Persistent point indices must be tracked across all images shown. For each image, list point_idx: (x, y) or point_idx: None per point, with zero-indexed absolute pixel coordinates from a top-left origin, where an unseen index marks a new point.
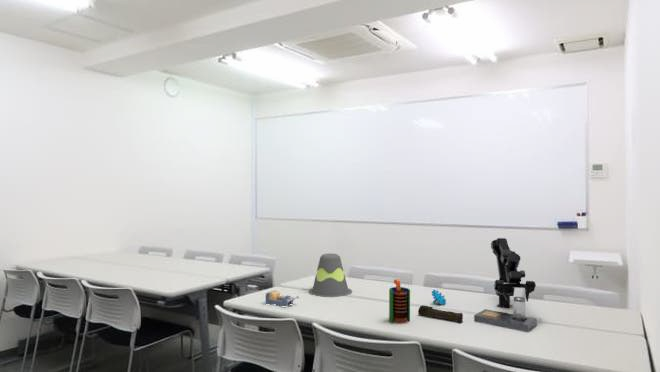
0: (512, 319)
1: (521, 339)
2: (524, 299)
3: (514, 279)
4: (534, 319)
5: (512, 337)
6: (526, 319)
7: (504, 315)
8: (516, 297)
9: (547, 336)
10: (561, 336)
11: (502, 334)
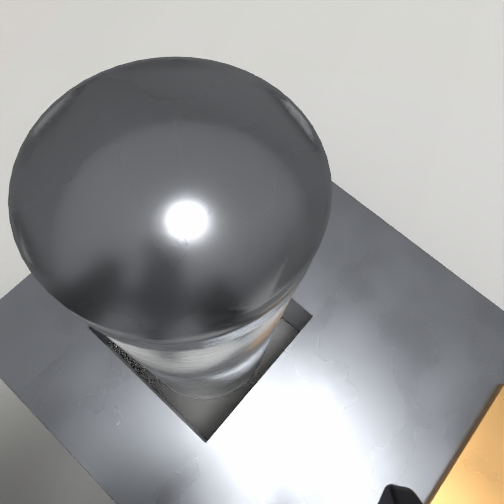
0: (304, 300)
1: (350, 16)
2: (100, 80)
3: None
4: (22, 289)
5: (401, 51)
6: (102, 342)
7: (347, 495)
8: (232, 237)
9: (121, 52)
10: (8, 45)
11: (460, 108)
